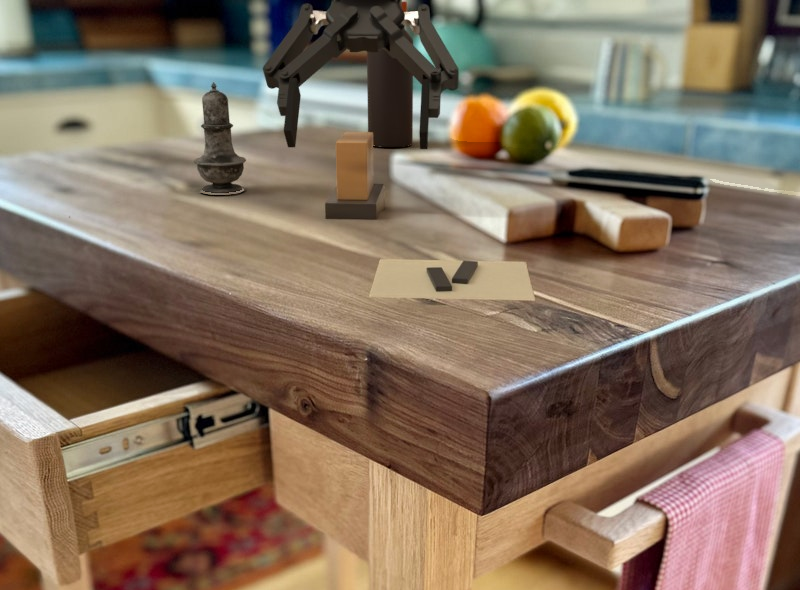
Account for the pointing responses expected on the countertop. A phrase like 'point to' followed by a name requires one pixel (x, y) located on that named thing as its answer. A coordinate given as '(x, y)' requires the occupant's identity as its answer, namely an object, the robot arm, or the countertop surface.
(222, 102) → the salt shaker
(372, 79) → the bottle
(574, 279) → the countertop surface
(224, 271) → the countertop surface
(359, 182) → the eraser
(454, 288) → the memo board
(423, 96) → the robot arm
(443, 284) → the stroke
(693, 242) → the countertop surface
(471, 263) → the stroke
